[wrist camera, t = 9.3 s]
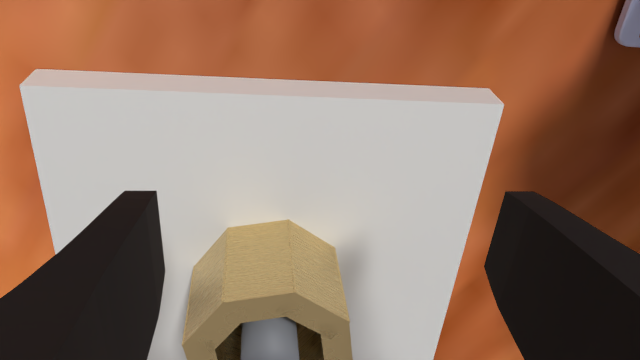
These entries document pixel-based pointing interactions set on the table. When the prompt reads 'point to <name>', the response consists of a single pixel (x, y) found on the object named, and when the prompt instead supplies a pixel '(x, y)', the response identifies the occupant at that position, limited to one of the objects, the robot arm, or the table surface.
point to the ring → (267, 292)
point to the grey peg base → (277, 184)
